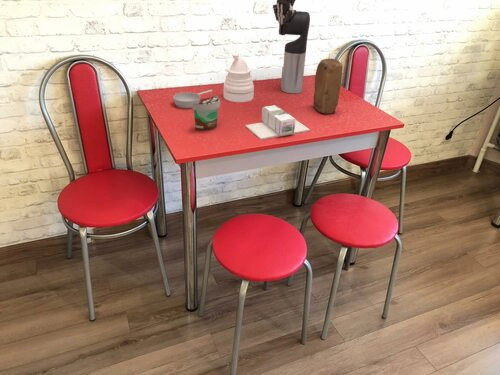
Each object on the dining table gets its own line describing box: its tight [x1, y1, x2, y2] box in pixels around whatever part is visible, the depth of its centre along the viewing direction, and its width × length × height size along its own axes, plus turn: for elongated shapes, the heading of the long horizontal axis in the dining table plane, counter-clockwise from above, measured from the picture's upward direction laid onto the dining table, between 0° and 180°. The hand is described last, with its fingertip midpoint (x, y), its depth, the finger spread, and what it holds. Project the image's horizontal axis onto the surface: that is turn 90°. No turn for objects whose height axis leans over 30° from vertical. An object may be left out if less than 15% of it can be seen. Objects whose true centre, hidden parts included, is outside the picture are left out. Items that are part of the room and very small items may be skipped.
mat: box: [245, 119, 311, 141], centre depth 153 cm, size 12×20×1 cm, turn 117°
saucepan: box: [172, 89, 213, 109], centre depth 171 cm, size 11×18×4 cm, turn 131°
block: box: [312, 58, 343, 115], centre depth 166 cm, size 11×8×20 cm
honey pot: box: [223, 53, 255, 103], centre depth 175 cm, size 13×13×18 cm
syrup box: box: [261, 104, 296, 136], centre depth 151 cm, size 6×6×14 cm
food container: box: [191, 94, 221, 131], centre depth 150 cm, size 12×6×10 cm, turn 148°
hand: (282, 34), depth 154 cm, fingers closed
